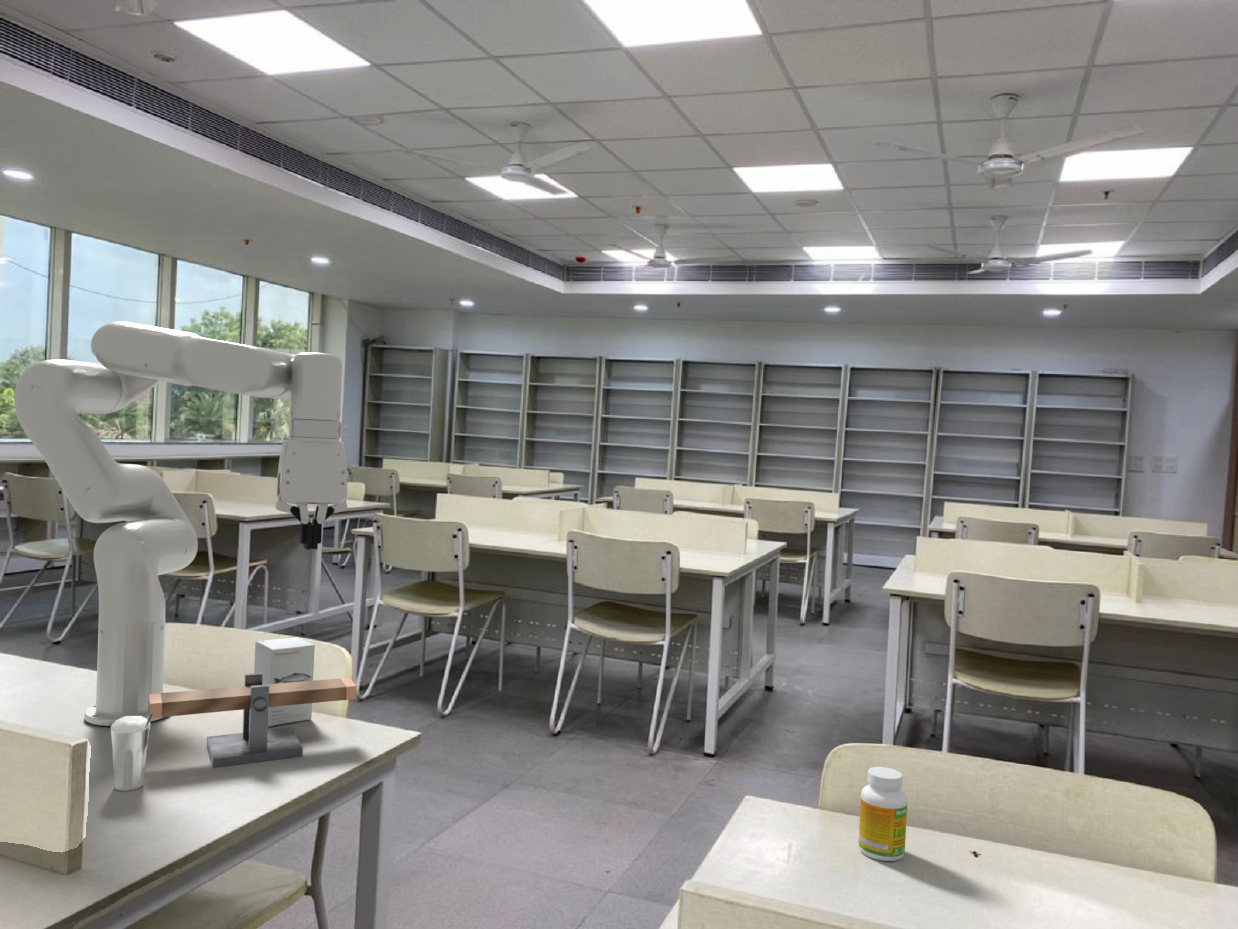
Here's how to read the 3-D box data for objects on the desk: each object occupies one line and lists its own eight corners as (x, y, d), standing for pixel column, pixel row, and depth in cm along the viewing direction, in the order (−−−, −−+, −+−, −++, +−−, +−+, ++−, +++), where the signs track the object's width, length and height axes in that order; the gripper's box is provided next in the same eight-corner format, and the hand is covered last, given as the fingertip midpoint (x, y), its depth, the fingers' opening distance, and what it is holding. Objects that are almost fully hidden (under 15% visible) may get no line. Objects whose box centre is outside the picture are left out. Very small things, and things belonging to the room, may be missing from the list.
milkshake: (136, 796, 113) (139, 718, 113) (100, 791, 114) (102, 714, 114) (161, 783, 118) (164, 708, 118) (126, 778, 119) (129, 704, 119)
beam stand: (212, 767, 124) (215, 693, 124) (206, 744, 133) (209, 675, 132) (302, 756, 130) (305, 684, 129) (291, 735, 138) (293, 668, 138)
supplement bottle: (897, 867, 103) (902, 784, 103) (852, 854, 106) (856, 773, 106) (909, 850, 108) (913, 771, 108) (865, 838, 111) (869, 761, 111)
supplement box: (267, 728, 141) (270, 649, 141) (251, 716, 147) (254, 640, 146) (313, 720, 146) (315, 644, 146) (295, 708, 152) (298, 635, 151)
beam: (149, 718, 122) (149, 703, 122) (148, 708, 126) (148, 694, 126) (356, 699, 136) (356, 686, 136) (348, 690, 140) (349, 677, 140)
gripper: (357, 433, 146) (353, 544, 147) (260, 429, 139) (256, 546, 139) (368, 434, 140) (364, 550, 140) (267, 430, 132) (262, 552, 133)
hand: (310, 548), depth 140 cm, fingers closed
